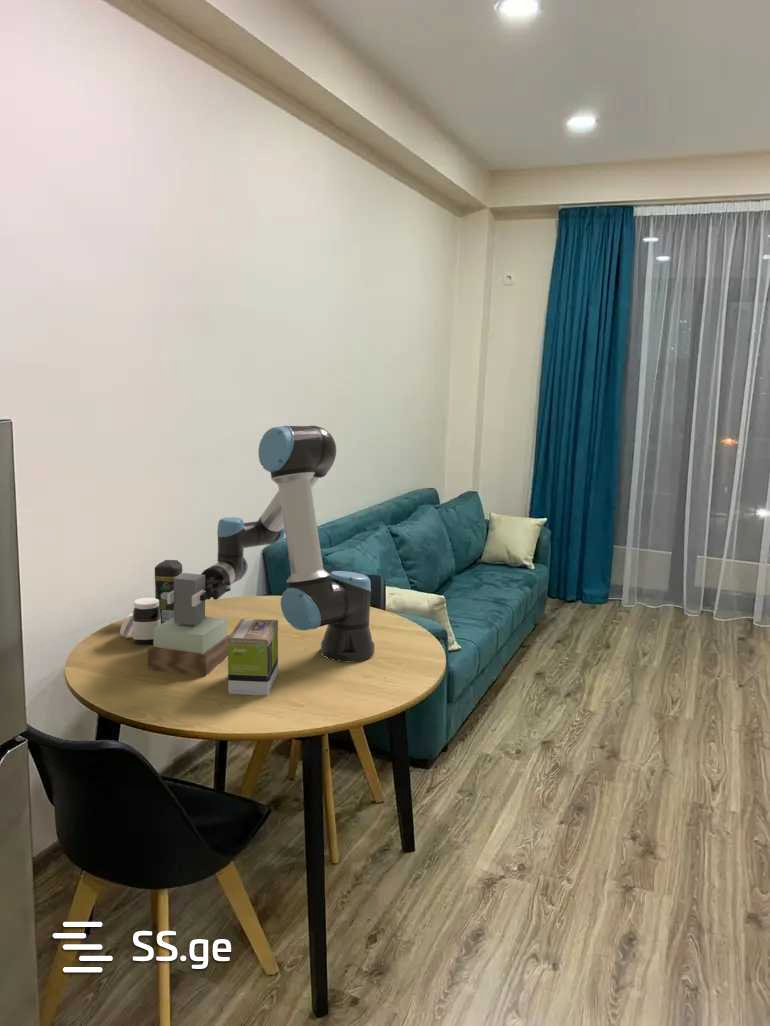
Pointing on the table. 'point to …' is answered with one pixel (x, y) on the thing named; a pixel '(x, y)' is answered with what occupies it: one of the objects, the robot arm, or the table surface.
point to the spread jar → (142, 621)
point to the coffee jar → (166, 586)
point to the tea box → (253, 657)
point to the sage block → (190, 635)
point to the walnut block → (187, 659)
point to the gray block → (188, 598)
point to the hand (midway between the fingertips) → (180, 600)
